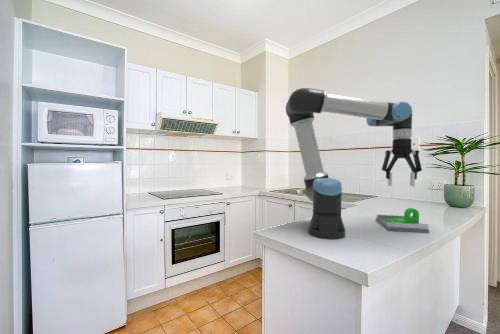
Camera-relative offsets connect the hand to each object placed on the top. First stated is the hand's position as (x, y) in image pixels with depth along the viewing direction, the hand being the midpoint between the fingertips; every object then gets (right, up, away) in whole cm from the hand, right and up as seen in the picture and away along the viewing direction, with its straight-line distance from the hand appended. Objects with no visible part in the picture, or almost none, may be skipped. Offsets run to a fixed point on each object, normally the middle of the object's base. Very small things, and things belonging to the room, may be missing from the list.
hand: (400, 185), depth 112 cm
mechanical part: (-1, -18, -1) cm, 18 cm away
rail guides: (0, -18, +1) cm, 18 cm away
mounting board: (0, -19, +1) cm, 19 cm away
